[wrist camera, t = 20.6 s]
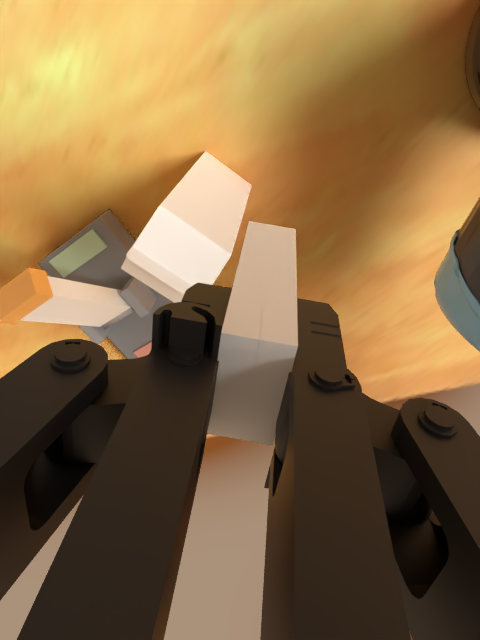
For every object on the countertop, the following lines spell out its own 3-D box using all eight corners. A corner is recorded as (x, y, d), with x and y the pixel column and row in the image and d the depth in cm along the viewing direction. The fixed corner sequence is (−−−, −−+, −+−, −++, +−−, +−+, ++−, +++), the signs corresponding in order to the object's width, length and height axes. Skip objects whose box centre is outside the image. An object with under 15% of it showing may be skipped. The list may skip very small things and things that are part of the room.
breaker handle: (145, 309, 51) (36, 293, 38) (110, 331, 53) (-5, 323, 40) (137, 289, 52) (28, 267, 39) (103, 311, 54) (-12, 297, 41)
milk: (221, 228, 50) (179, 337, 32) (175, 195, 49) (103, 290, 30) (253, 183, 48) (227, 275, 29) (205, 148, 46) (145, 220, 28)
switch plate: (204, 325, 57) (195, 355, 52) (146, 358, 61) (131, 389, 55) (109, 208, 51) (86, 229, 45) (50, 253, 54) (22, 277, 49)
